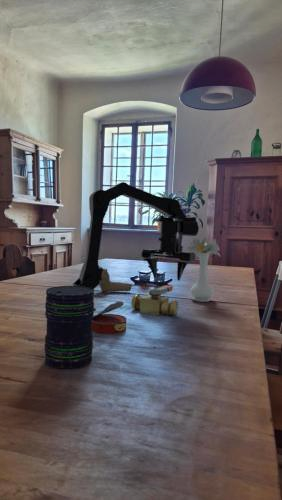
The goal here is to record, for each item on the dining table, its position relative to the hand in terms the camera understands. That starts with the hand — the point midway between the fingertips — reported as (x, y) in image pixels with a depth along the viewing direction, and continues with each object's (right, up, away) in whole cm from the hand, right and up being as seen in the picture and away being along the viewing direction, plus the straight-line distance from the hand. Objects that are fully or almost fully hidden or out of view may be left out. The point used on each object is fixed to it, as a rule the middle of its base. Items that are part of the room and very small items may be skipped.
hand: (166, 278), depth 121 cm
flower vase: (+15, -10, +15) cm, 23 cm away
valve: (-5, -11, -7) cm, 14 cm away
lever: (-2, -4, -4) cm, 6 cm away
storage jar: (-24, -13, -50) cm, 57 cm away
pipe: (-21, -8, +24) cm, 33 cm away
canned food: (-18, -12, -27) cm, 35 cm away
